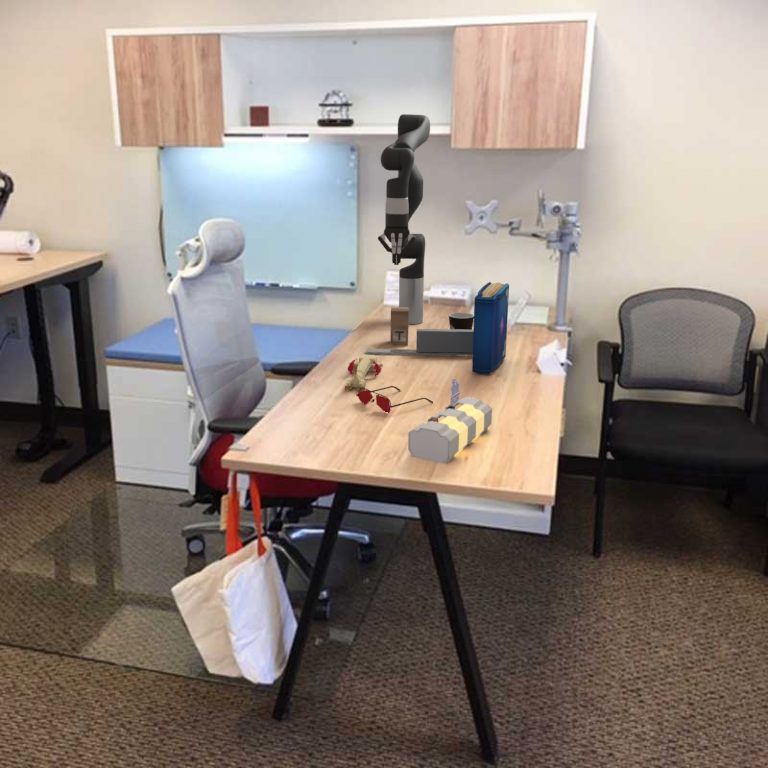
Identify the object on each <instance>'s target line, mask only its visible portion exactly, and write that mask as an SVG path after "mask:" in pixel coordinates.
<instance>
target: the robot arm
mask: <svg viewBox="0 0 768 768" xmlns="http://www.w3.org/2000/svg"><path fill="white" fill-rule="evenodd" d="M430 133H431V122H430V118H429V116H427V115H423V114H410V113H409V114H406V113H405V114H404V113H403V114H400V115H399V118H398V122H397V139H395V142H394V143H392V144H390V145H388V146H386V147H385V148H384V149H383V150H382V153H381V154H380V165H381V167H382V168H384V170H386V171H388V172H389V171H392V172H394V171H395V172H396V171H397V177H391V178H389V179H387V181H386V190H385V191H386V192H385V195H386V199H385V209H384V210H385V212H384V214H385V216H384V217H385V218H384V221H385V224H384V225H385V228H384V230H383V233H381V235H378V237H377V240H378V242H379V243H380V245H382V246H383V248H384V249H385V250H386V252H388V253H391V256H392V257H391V259H392V261H391V262H392V264H394V266H399V264H401V262H402V261H401V260H402V259H403V260H414V262H412V263H411V264H410V265H407V266H405V267H402V268H400V269H399V272H398V275H399V277H398V283H399V284H398V307H409V319H408V325H417V324H422V323H423V321H424V289H425V286H424V283H425V282H424V281H425V278H424V277H425V271H424V270H425V254H426V237H425V236H424V234H422V233H411V232H410V228H409V223H410V220H411V218H412V217H413V215H414V214H415V212H416V211H417V209H418V208H419V207H420V205H421V203H422V201H423V198H424V178H423V175H422V173H421V172H420V170H419V168H418V167H417V165H416V164H415V154H414V153H415V151H416V150H417V149H418V148H419V147H421V146H423V144H425V143H426V142H427V141H428V139H429V137H430ZM386 239H387V240H388V242H389V243H391V246H390V245H389V244H388V243H387V241H386Z"/></svg>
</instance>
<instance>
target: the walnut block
mask: <svg viewBox="0 0 768 768" xmlns="http://www.w3.org/2000/svg"><path fill="white" fill-rule="evenodd" d="M408 319H409V307H399V306H391V307H390V344H389V345H390V346H397V345H408V346H409V324H408Z"/></svg>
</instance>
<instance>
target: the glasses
mask: <svg viewBox="0 0 768 768" xmlns="http://www.w3.org/2000/svg"><path fill="white" fill-rule="evenodd" d="M390 388H394V389H395V390H397V391H398V390H401V389H400V388H398V387H397V386H394V385H390V386H386V387H382V388H378V389H374V390H370V389H368V388H366V387H365V388H361V389H365V391H359V390H358V391H357V393H356V394H355V396H356V397H358V400H359V401H360V402H361V404H363V403H364V404H363V405H365V404H367V405H368V404H369V403H372V404H373V403H374V402H375V401H376V403H375V404H376V406H378V408H380V409H381V410H382V411H383V412H384V411H385V412H388V413H389V414H390V412H391V411H392V410H391V408H396V407H400V406H402V405H405V404H410V403H413V402H417V401H420V400H426V401H428V402H429V403H431V404H434V403H433V402H434V401H432V400H431V399H429V398H427V397H421V398H417V399H413V400H409V401H406V402H402V403H398V404H394V405H392V402H391V399H389V397H387V396H385V395H383V394H381V393H377V392H378V391H382V390H386V389H390ZM361 389H360V390H361ZM372 393H373V394H375V398H374V396H373V394H372ZM373 398H374V399H373ZM385 412H384V413H385Z"/></svg>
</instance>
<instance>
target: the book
mask: <svg viewBox="0 0 768 768" xmlns="http://www.w3.org/2000/svg"><path fill="white" fill-rule="evenodd" d="M509 295H510V284H509V283H507V282H506V283H505V284H504V283H502V282H494V283H491V281H489V282H487V283H486V284H484V285H483V286H482V287H481V288H480V289H479V290H478V291H477V295H475V297H474V301H473V302H474V306H473V315H474V320H473V330H474V331H473V356H472V364H471V365H472V367H471V372H472V373H475V374H478V375H479V374H480V375H491V374H492V373H493V372H494V371H496V370H497V369H498V368H499V367H500V365H501V364H502V363H503V361H504V360H505V358H506V355H507V354H506V352H507V336H508V335H507V333H508V317H509V314H508V313H509V297H510V296H509Z"/></svg>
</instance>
